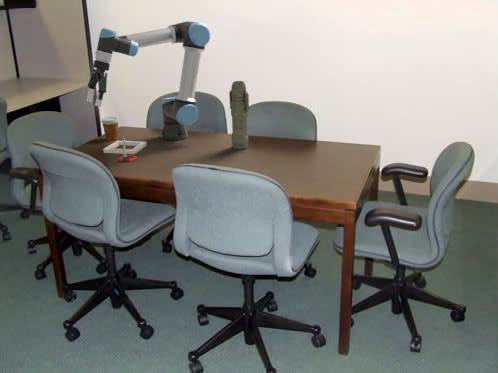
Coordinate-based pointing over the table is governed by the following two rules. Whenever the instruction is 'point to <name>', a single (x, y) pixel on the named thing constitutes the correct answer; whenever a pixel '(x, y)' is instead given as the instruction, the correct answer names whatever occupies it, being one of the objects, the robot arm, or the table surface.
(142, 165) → the table surface
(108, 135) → the disposable coffee cup
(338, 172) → the table surface
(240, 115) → the olive green statue
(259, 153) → the table surface
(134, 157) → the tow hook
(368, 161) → the table surface
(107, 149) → the holder frame
